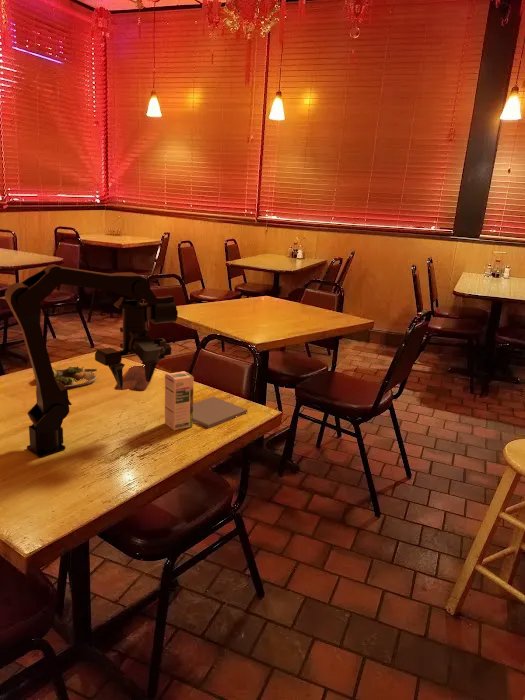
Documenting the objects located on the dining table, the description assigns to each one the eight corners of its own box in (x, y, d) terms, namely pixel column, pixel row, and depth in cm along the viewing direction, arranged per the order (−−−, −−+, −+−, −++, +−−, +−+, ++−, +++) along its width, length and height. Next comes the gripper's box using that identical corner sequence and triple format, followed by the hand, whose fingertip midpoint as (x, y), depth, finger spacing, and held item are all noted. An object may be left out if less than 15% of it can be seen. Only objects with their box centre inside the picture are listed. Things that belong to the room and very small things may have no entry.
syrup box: (173, 431, 135) (174, 379, 131) (164, 423, 140) (164, 372, 136) (192, 427, 138) (194, 376, 134) (182, 419, 143) (184, 369, 139)
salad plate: (86, 368, 180) (85, 355, 179) (110, 382, 168) (110, 369, 167) (29, 377, 167) (28, 364, 166) (52, 394, 155) (51, 379, 154)
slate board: (208, 428, 138) (208, 424, 138) (173, 412, 147) (174, 409, 146) (247, 412, 150) (247, 409, 150) (213, 399, 159) (213, 396, 158)
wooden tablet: (131, 361, 186) (158, 360, 186) (132, 367, 187) (159, 365, 187) (113, 387, 161) (145, 385, 161) (114, 393, 161) (146, 391, 162)
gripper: (117, 336, 114) (117, 402, 118) (185, 327, 127) (183, 386, 131) (93, 326, 121) (94, 388, 126) (159, 318, 134) (158, 374, 139)
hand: (134, 384), depth 130 cm, fingers open, 8 cm apart
